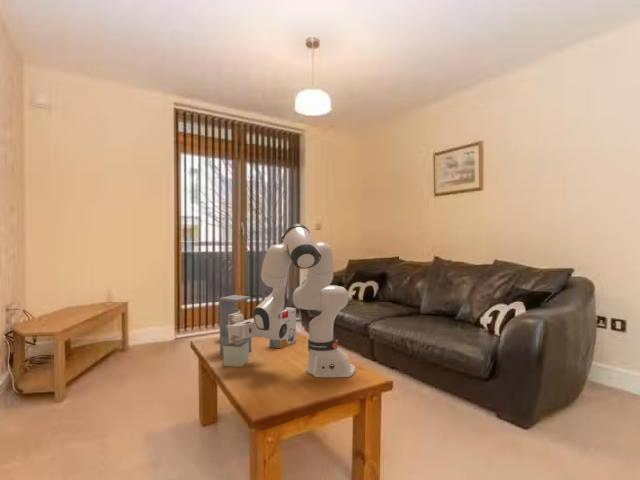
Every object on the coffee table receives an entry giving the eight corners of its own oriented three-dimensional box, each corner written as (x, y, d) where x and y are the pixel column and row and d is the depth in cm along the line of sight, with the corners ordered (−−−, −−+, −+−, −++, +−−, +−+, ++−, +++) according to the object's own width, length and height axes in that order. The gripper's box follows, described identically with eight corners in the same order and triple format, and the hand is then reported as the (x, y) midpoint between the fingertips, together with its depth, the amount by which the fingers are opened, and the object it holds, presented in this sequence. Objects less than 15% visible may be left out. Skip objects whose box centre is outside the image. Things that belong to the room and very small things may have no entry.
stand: (248, 360, 180) (248, 340, 180) (241, 366, 171) (240, 346, 171) (232, 359, 182) (231, 339, 182) (223, 365, 173) (223, 345, 173)
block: (243, 342, 178) (243, 313, 177) (236, 344, 173) (236, 316, 173) (235, 340, 180) (235, 312, 180) (228, 343, 176) (228, 314, 176)
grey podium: (251, 351, 194) (250, 296, 194) (237, 357, 184) (236, 299, 184) (234, 348, 200) (233, 294, 199) (220, 354, 190) (219, 298, 190)
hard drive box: (280, 349, 198) (279, 312, 197) (269, 346, 202) (268, 311, 201) (296, 341, 211) (295, 307, 210) (285, 339, 215) (285, 306, 215)
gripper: (269, 315, 179) (248, 313, 186) (241, 325, 161) (219, 322, 168) (270, 328, 179) (248, 325, 186) (242, 339, 161) (219, 335, 168)
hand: (234, 323), depth 177 cm, fingers open, 8 cm apart
